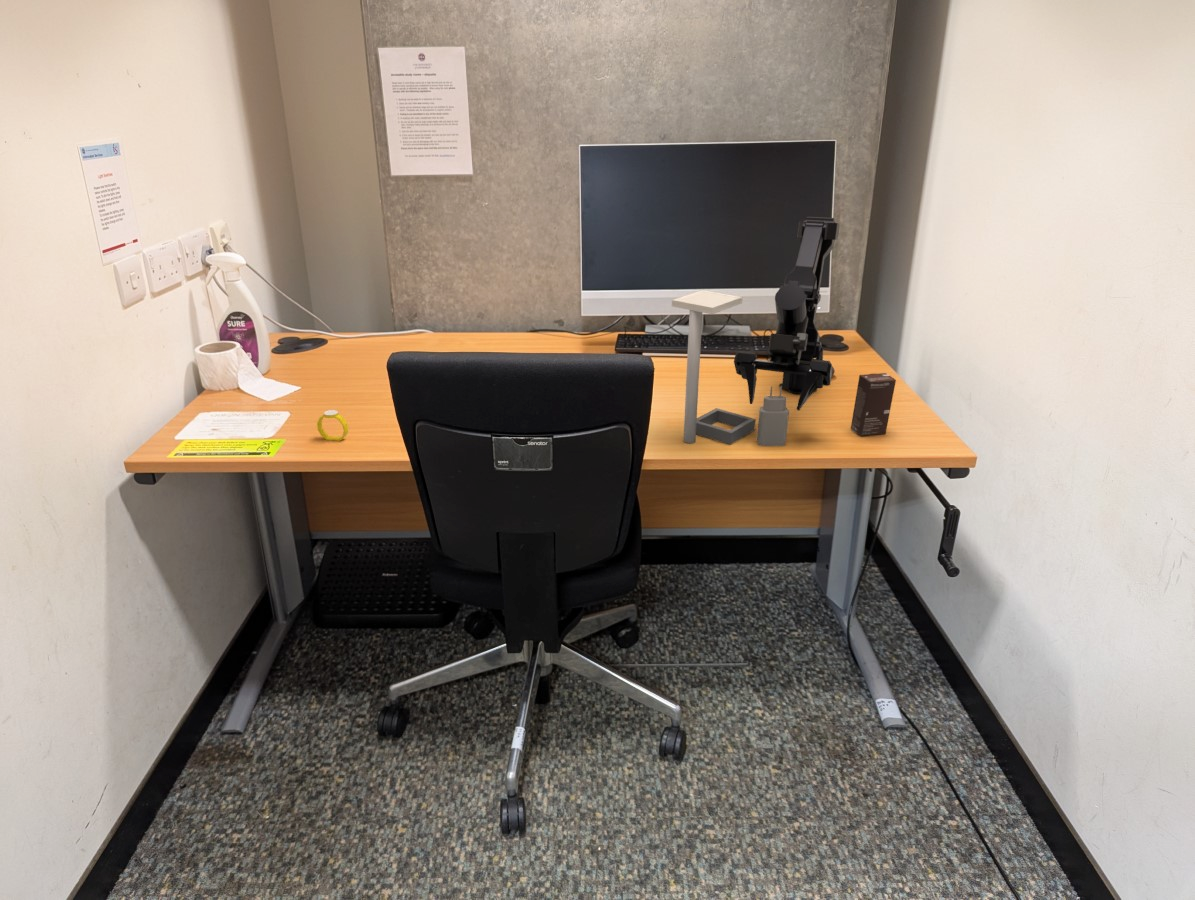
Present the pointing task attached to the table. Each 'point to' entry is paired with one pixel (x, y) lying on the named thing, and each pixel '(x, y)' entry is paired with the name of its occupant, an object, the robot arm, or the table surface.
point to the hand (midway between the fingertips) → (774, 406)
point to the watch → (332, 415)
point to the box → (872, 404)
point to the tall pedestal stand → (702, 424)
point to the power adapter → (773, 421)
